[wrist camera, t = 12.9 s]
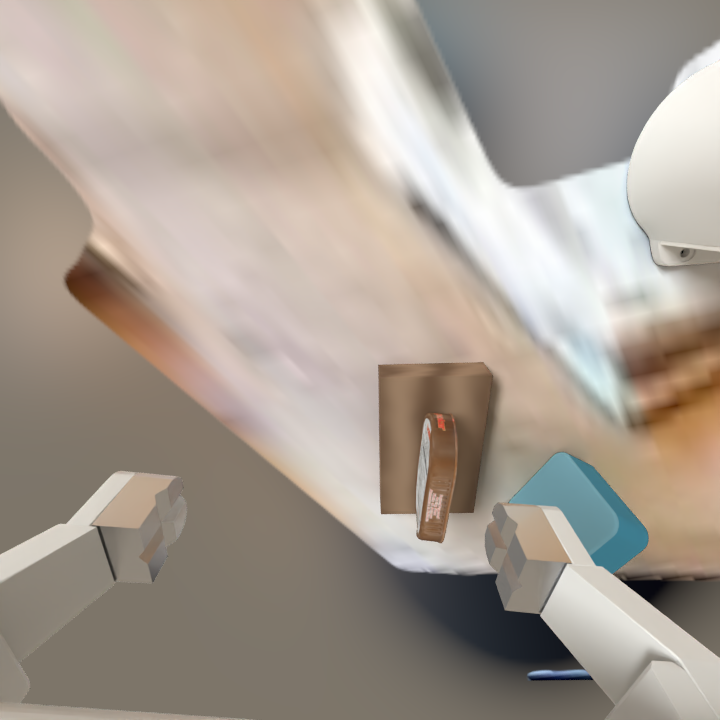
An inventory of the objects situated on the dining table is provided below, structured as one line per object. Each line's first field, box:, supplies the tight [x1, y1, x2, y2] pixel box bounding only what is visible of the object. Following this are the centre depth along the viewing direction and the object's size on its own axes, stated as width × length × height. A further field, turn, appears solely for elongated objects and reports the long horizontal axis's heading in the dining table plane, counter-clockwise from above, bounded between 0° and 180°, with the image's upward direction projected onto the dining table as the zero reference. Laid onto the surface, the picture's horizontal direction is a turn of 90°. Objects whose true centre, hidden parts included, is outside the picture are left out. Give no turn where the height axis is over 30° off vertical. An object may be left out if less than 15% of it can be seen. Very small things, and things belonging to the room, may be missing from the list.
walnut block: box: [378, 362, 493, 514], centre depth 43 cm, size 12×20×4 cm, turn 2°
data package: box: [509, 452, 649, 574], centre depth 42 cm, size 12×4×12 cm, turn 152°
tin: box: [415, 413, 458, 543], centre depth 38 cm, size 15×3×8 cm, turn 178°
